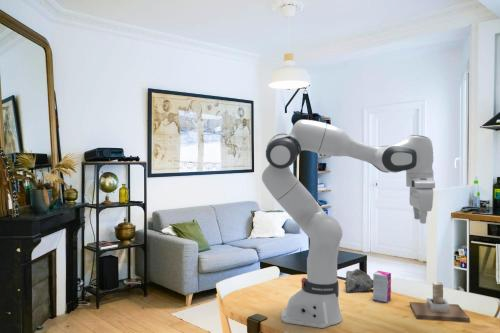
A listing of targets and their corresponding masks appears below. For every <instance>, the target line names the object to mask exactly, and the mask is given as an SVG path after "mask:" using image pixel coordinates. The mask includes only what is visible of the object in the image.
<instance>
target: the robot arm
mask: <svg viewBox="0 0 500 333" xmlns="http://www.w3.org/2000/svg"><path fill="white" fill-rule="evenodd" d="M432 142H433V141H432V140H431V138H429V137H427V136H425V135H418V134H416V135H415V134H410V135H408V136H407V137H406V138H404V139H403V140H401V141H399V142H397V143H394V144H392V145H382V146H373V145H370V144H367V143H364V142H360V141H357V140H355V139H353V138H352V137H350V136H349V135H348V134H347V132H346V131H345V130H344V129H342V128H340V127H337V126H336V125H332V124H330V123H326V122H323V121H318V120H311V119H299V120H297V121H296V122H295V123H294V125H293V126H292V129H291V131H290V132H289V134H288V133H278V134H276V135H274V136H272V137H271V139H270V140H269V141H268V143H267V145H266V150H265V158H266V160H267V162H268V166H267V167H265V169H264V171H263V172H262V174H261V180H262V183H263V184H264V186H265V188H266V189H267V190H268V191H269V193H270V194H271V197H273V198H274V199H275V201H276V202H277V203H278V204H279V205H280V206H281V207H282V208H283V210H284V211H285V212H286V213H287V214H288V215H289V217H291V219H292V220H293V221H294V222H295V224H296V225H298V226H299V228H300V229H301V230H302V231H303V233H304V234H305V235H306V236H307V237H308V238H309V247H308V254H307V257H306V277H302V278H301V280H300V281H301V289H300V290H299V291H297V292H296V293H295V294H293V295H291V296H290V298H289V300H288V302H287V305H286V308H283V310H282V311H281V314H280V320H281V322H283V323H286V324H292V325H298V326H305V327H312V328H321V329H325V328H327V327H329V326H334V325H337V324H339V323H341V322H343V317H342V313H341V308H340V304H339V295H340V286H339V285H340V284H339V280H338V255H339V250H340V244H341V240H342V238H343V229H342V226H341V225H340V223H339V221H338V220H337V219H336V218H334V217H333V216H331V215H329V214H327V213H326V212H325V210H324V209H323V208H322V207H321V206H320V204H319V203H318V202H317V200H316V199H315V198H314V196H313V195H312V194H311V193H310V191H309V190H308V189H307V188H306V187H305V186H304V185H303V184H302V182H301V181H300V180H299V179H298V178H297V177H296V175H295V174H293V172H292V171H291V168H290V167H291V166H292V165H293V163H295V161H296V160H297V158H298V156H299V155H300V153H302V151H309V152H313V153H315V154H319V155H322V156H329V157H350V158H352V159H356V160H359V161H363V162H366V163H369V164H371V165H372V166H373V167H374V168H376V169H377V170H378V171H380V172H383V173H386V174H387V173H388V174H389V173H395V174H396V173H401V172H406V173H405V174H406V175H405V176H406V177H405V181H406V182H405V184H406V185H405V186H406V187H408V188H409V205H410V206H412V210H413V216H414V217H413V218H414V220H419V223H420V224H421V225H422V224H427V217H428V212H431V211H432V209H433V204H434V189H435V188H436V182H435V180H434V169H433V163H434V148H433V143H432Z"/></svg>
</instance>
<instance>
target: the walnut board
mask: <svg viewBox="0 0 500 333" xmlns="http://www.w3.org/2000/svg"><path fill="white" fill-rule="evenodd" d="M448 304H449V305H450V313H436V312H430V310H429V309H428V307H427V302H420V301H419V302H417V301H414V302H413V301H409V307H410V309H411V312H412V313H413V315H414V317H415V319H416V320H425V321H426V320H428V321H429V320H430V321H444V322H445V321H446V322H458V323H459V322H462V323H470V322H471V319H470V317H469V315H468V314H467V313H466V312H465V310H463V309H462V307H461V306H460V305H459V304H454V303H453V304H452V303H448Z"/></svg>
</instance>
